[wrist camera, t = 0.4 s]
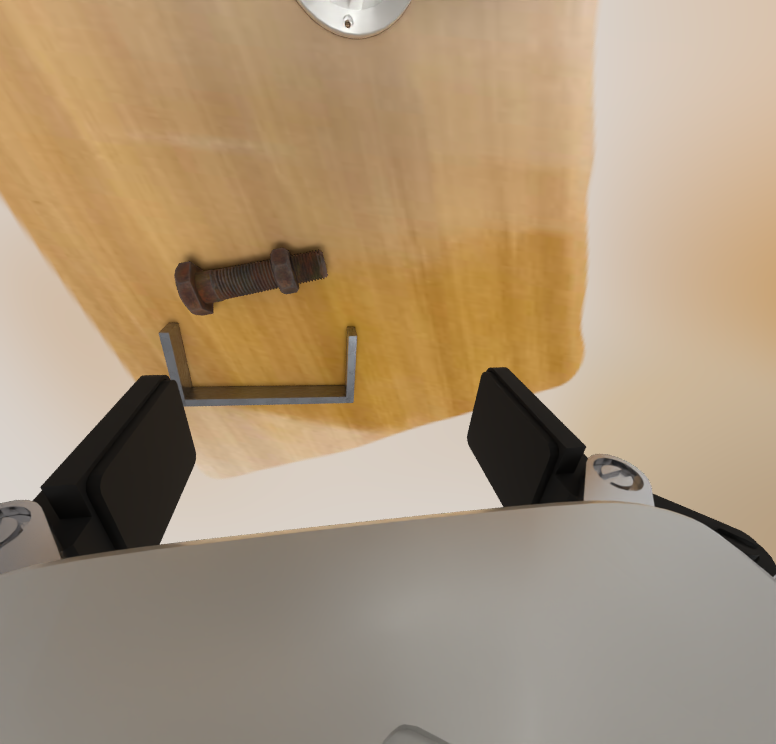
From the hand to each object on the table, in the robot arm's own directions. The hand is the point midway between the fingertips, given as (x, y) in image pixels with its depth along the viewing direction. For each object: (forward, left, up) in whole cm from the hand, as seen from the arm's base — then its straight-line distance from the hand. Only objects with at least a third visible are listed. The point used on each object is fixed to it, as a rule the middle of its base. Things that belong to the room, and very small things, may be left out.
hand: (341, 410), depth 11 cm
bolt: (+4, -7, -33) cm, 34 cm away
